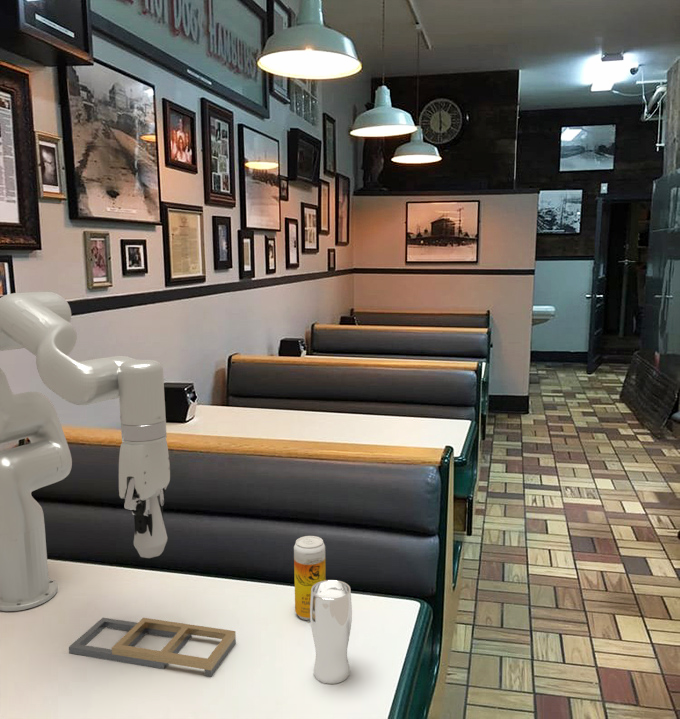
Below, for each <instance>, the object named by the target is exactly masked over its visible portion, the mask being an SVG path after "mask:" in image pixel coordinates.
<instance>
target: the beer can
mask: <svg viewBox="0 0 680 719" xmlns="http://www.w3.org/2000/svg"><path fill="white" fill-rule="evenodd" d="M293 563H294V564H293V570H294V572H293V573H294V611H295V614H296V615H297V616H298V618H300V619H301V620H304V621H310V601H311V588H312V586H313V585H315V584H316V583H318V582H321V581H325V580H327V577H326V574H327V573H326V571H327V569H326V544H325V543H324V539H322V537H320V536H316V535H305V536H301V537H299V538H297V539H296V540H295V543H294V546H293Z"/></svg>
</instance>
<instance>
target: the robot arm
mask: <svg viewBox="0 0 680 719" xmlns="http://www.w3.org/2000/svg"><path fill="white" fill-rule="evenodd" d="M71 321H72V310H71V307H70V304H69V303H68V301H67V300H66V298H64V297H63V296H61V295H60V294H59V293H56V292H51V291H34V292H33V291H31V292H30V291H29V292H13V293H9V294H5V295H3V296H2V297H0V352H4V351H13V350H21V349H26V350H27V351H28V352H30V353H31V354H32V355H34V356H35V365H36V369H37V372H38V375H39V377H40V379H41V381H42V383H43V384H44V385H45V386H46V387H47V388H48V389H49V390H51V392H53V393H55V394H56V395H58V396H59V397H60V398H61V399H63V400H65V401H67V402H68V403H71V404H73V405H77V406H89V405H93V404H97V403H101V402H105V401H109V400H110V401H112V400H115V399H119V414H120V415H119V418H120V431H121V432H120V433H121V442H122V443H121V444H120V449H119V454H118V493H119V494H118V496H119V498H120V499H122V500H124V505H123V506H124V509H125V510H130V511H131V515H133V519H134V535H135V534H137V532H138V533H140V534H144V533H145V532H146V531H147V525H148V529H149V532H150V535H151V536H152V529H153V522H152V514H149V513H150V497H151V496H152V495H154V494H155V493H156V490H158V489H160V494H159V496H157V498H158V502H159V506H160V510H161V514H162V517H163V521H165V520H164V507H163V506H164V504H165V498H164V497H165V493H166V490H167V487H168V486H169V484H170V481H171V466H170V464H171V463H170V456H169V449H168V447H169V446H168V441H167V437H168V435H167V418H166V401H165V398H166V397H165V386H164V385H165V381H164V380H165V379H164V368H163V365H162V364H161V363H160V361H158V360H154V359H137V358H134V357H130V356H127V355H114V356H107V357H100V358H94V359H88V360H87V359H86V360H82V361H78V360H75V359H73V358H72V357H70V356H69V355H70V354H71V353H72V351H73V350H74V348H75V346H76V343H77V340H78V334H77V330H76V329H75V326H74V325H73V324H72V323H71ZM8 380H9V379H8V378H7V375H6V373H5V372H4V370H2V368H1V367H0V445H5V444H9V443H12V442H16V441H20V440H24V439H29V442H30V443H28V444H23V445H19V446H16V447H12V448H9V449H5V450H2V451H0V611H1V612H19V611H23V610H27V609H28V610H29V609H31V608H36V607H38V606H40V605H42V604H44V603H47V602H48V601H50V600H51V599H52V598H53V597H54V596H55V595H56V594H57V592H58V583H57V582H56V580H55V579H52V578H50V577H49V568H48V566H49V565H48V552H47V542H46V540H47V539H46V527H45V526H46V524H45V517H44V516H45V515H44V511H43V508H42V506H41V504H40V503H39V502H38V501H37V500H36V499H35V498H34V496H32V492H34V491H36V490H39V489H41V488H44V487H47V486H50V485H52V484H55V483H58V482H60V481H63V480H65V478H67V477H68V476H69V475H70V473H71V470H72V466H73V459H72V458H73V457H72V454H71V450H70V447H69V444H68V441H67V439H66V436H65V433H64V429H63V427H62V424H61V421H60V417H59V415H58V413H57V409H56V408H55V406H54V404H53V403H52V401H51V400H50V399H49V397H47V396H46V395H45V394H43V393H41V392H38V391H26V392H20V393H14V392H13V391H12V389H11V386H10V384H9V381H8ZM137 494H139V495H140V497H138V496H137ZM139 501H140V502H143V505H142V504H139Z"/></svg>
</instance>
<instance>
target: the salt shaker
mask: <svg viewBox="0 0 680 719" xmlns="http://www.w3.org/2000/svg"><path fill="white" fill-rule="evenodd" d="M159 494H160V489H158V490H156V493H155V494H154V495H152V496H151V497H150V513H149V514H152V522H153V529H152V536H151V535H150V532H149V529H148V525H147V531H146V532H145V533H144V534H140V533H138V532H137V534H135V533H134V536H133V546H134V548H135V550H136V551H137V553H138V554H139V557H140V558H145V559H151V558H155V557H159V556H160V555H162V553H163V552H164V550H165V547H166V544H167V542H168V534H167V529H166V526H165V522H164V521H165V520H164V521H163V519H164V516H163V517H162V514H161V510H160V506H159V502H158V498H157V496H159ZM137 496H138V497H140V495H139V494H137ZM138 503H139V504H142V505H143V502H140V501H138Z"/></svg>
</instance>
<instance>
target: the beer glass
mask: <svg viewBox="0 0 680 719" xmlns="http://www.w3.org/2000/svg"><path fill="white" fill-rule="evenodd" d="M351 589H352V588H351V586H350V585H349V584H348V583H346V582H345V581H342V580H337V579H326V580H325V581H321V582H318V583H316V584H315V585H313V586H312V588H311V601H310V620H309V621H310V626H311V628H310V629H311V633H312V634H311V635H312V638H313V643H314V648H315V660H314V664H313V665H314V666H313V676H314V678H315V679H316V680H318V681H319V682H321V683H322V684H323V683H324V684H328V685H334V684H335V685H336V684H340V683H342V682H344V681H346V680H347V679H348V678H349V676H350V672H351V670H350V664H349V658H348V647H349V641H350V636H351V630H352V623H353V622H352V621H353V604H352V594H351Z"/></svg>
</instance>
